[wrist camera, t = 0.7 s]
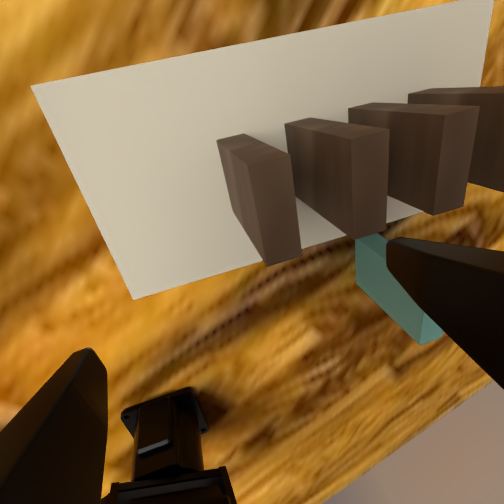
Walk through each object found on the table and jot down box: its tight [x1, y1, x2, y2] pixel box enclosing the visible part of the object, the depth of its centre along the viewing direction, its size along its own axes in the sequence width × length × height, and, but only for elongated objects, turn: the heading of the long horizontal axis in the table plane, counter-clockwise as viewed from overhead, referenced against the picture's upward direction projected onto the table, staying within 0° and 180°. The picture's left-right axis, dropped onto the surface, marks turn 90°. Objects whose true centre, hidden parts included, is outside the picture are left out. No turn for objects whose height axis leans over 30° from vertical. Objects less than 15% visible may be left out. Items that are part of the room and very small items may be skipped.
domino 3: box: [348, 102, 480, 216], centre depth 18 cm, size 2×5×8 cm, turn 11°
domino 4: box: [355, 233, 444, 345], centre depth 23 cm, size 2×5×8 cm, turn 11°
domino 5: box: [408, 86, 504, 192], centre depth 19 cm, size 2×5×8 cm, turn 11°
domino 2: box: [284, 117, 390, 240], centre depth 17 cm, size 2×5×8 cm, turn 11°
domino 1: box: [216, 133, 302, 267], centre depth 17 cm, size 2×5×8 cm, turn 11°
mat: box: [31, 0, 494, 300], centre depth 21 cm, size 14×28×1 cm, turn 101°
